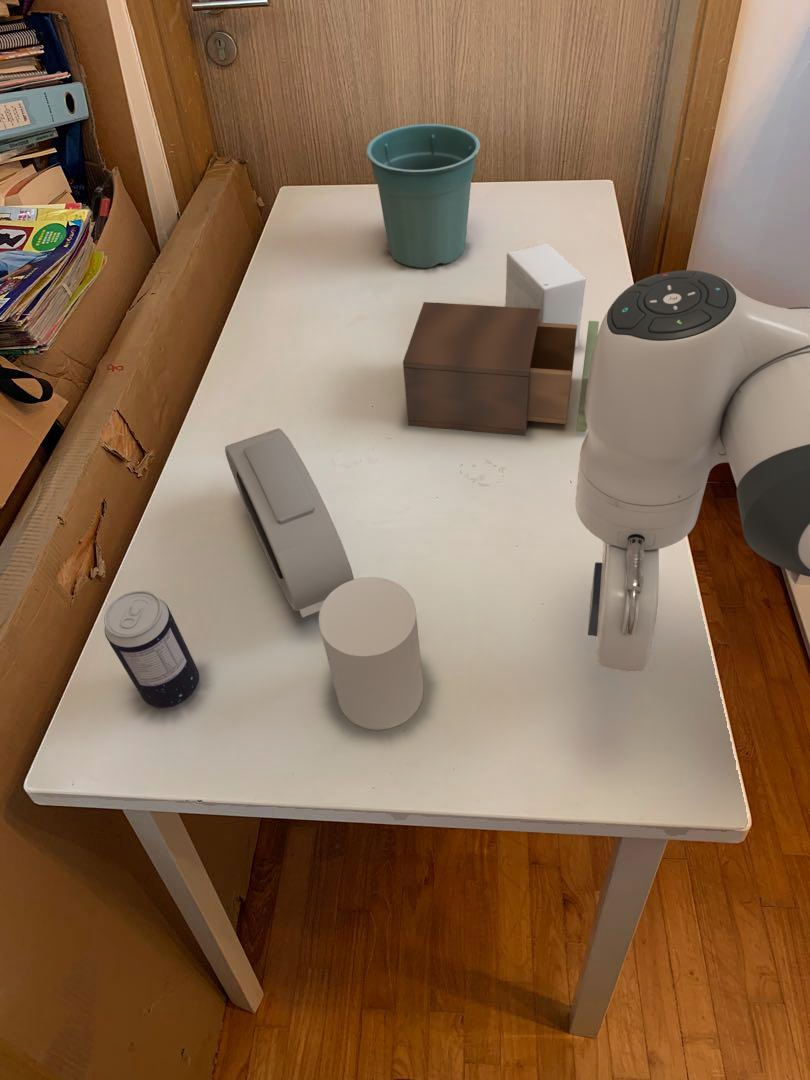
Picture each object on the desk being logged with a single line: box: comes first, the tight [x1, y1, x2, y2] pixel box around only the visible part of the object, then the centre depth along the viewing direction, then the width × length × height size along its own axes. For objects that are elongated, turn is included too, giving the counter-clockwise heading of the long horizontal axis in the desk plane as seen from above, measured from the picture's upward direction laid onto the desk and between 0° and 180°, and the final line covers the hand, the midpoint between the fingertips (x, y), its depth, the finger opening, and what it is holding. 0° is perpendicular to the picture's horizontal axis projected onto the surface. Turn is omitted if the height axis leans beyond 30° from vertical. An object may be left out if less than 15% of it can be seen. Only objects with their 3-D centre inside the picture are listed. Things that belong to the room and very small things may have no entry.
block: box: [587, 561, 602, 637], centre depth 69 cm, size 4×4×4 cm
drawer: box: [527, 320, 600, 433], centre depth 99 cm, size 18×11×8 cm, turn 78°
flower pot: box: [366, 123, 481, 269], centre depth 124 cm, size 16×16×16 cm
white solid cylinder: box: [318, 576, 425, 731], centre depth 73 cm, size 8×8×12 cm
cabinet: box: [402, 301, 540, 436], centre depth 101 cm, size 15×13×10 cm
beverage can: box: [103, 590, 200, 709], centre depth 74 cm, size 6×6×12 cm
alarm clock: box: [224, 428, 355, 619], centre depth 84 cm, size 23×6×13 cm, turn 24°
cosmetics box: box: [504, 242, 587, 349], centre depth 109 cm, size 10×6×10 cm, turn 22°
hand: (618, 605), depth 70 cm, fingers closed on block, 4 cm apart
